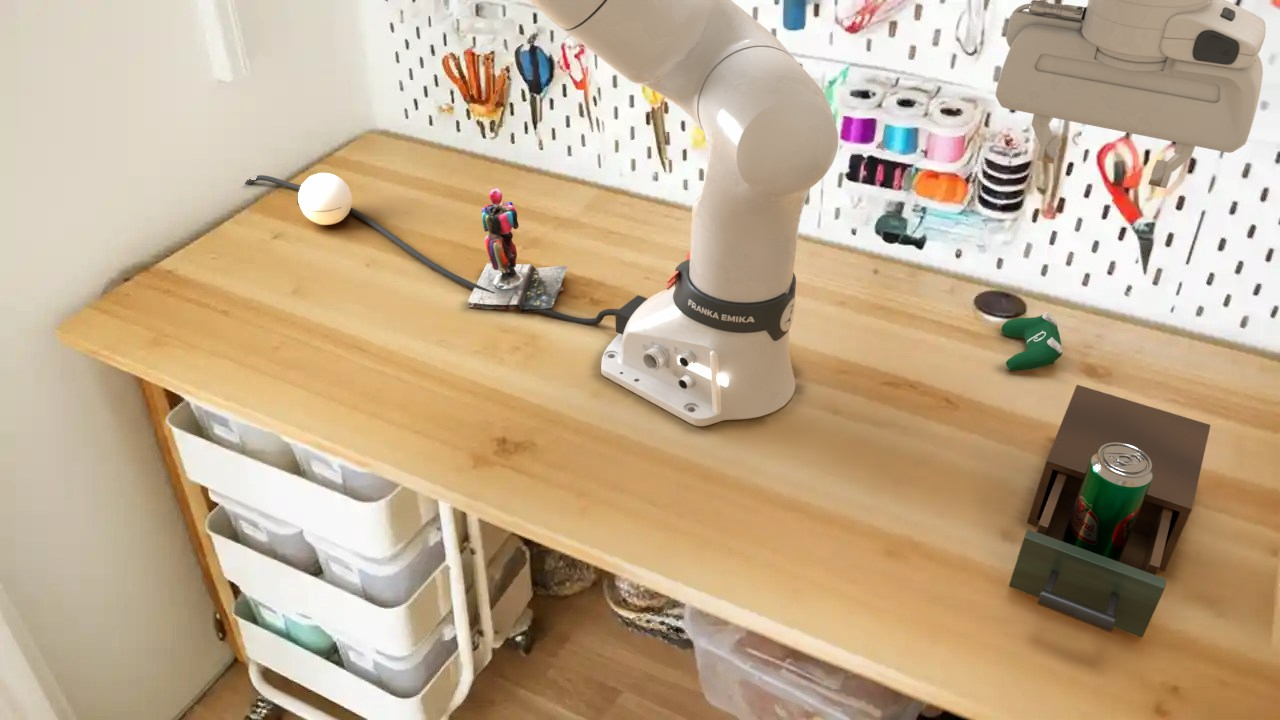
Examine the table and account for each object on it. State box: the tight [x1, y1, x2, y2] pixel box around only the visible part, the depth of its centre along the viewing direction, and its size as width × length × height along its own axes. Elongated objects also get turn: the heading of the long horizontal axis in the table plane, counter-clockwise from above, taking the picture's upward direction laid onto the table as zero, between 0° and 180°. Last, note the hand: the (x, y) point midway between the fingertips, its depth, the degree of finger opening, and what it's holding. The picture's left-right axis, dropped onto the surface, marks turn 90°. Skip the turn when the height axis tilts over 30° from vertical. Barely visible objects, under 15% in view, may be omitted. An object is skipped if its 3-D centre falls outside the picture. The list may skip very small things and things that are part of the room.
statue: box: [466, 188, 568, 314], centre depth 131 cm, size 11×9×15 cm
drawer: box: [1008, 471, 1173, 639], centre depth 93 cm, size 16×11×6 cm
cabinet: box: [1026, 384, 1211, 573], centre depth 102 cm, size 14×13×8 cm
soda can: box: [1062, 443, 1153, 562], centre depth 92 cm, size 5×5×12 cm
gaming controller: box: [1000, 311, 1063, 372], centre depth 124 cm, size 9×4×6 cm
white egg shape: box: [296, 172, 353, 226], centre depth 146 cm, size 10×7×7 cm
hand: (1101, 171), depth 92 cm, fingers open, 8 cm apart
